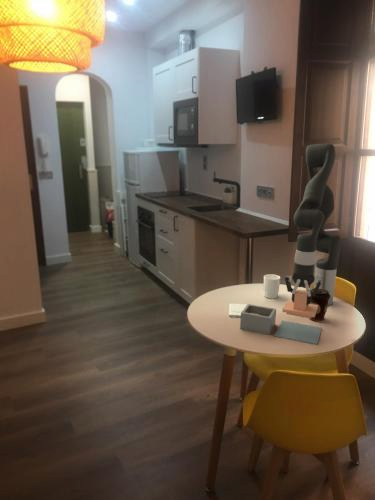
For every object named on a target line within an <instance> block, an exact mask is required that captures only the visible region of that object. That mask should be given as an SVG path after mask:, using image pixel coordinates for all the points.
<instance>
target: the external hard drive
mask: <svg viewBox="0 0 375 500" xmlns="http://www.w3.org/2000/svg"><path fill="white" fill-rule="evenodd" d="M247 304H248V303H247ZM247 304H245V303H243V304H242V303H229V307H228V308H229V311H228V317H229V318H241V312H242V311H243V310H244V308H245V307H246V306H247Z"/></svg>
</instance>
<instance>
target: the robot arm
mask: <svg viewBox="0 0 375 500" xmlns="http://www.w3.org/2000/svg"><path fill="white" fill-rule="evenodd" d="M335 161H336V148H335V146H334V144H333V143H317V144H315V143H314V144H309V145H307V147H306V148H305V163H306V168H307V173H308V174H307V175H308V179H309V181H308V182H307V184H306V186H305V188H304V189H305V190H304V193H303V197H302V200H301V202H300V205H299V206H298V208H297V209H296V210H295V213H294V215H293V223H294V225H295V226H296V227H297V228H301V229H309V230H310V229H311V231H310V232H306V233H300V234H298V235H297V238H296V247H295V248H296V249H295V254H294V260H293V261H294V262H293V263H294V264H293V273H292V275H286V276H285V277H284V281H285V284H286V285H285V287H286V291H287V292H288V293H291V301H293V303H294V296H295V293H296V291H297V289H298V288H305V291H307V294H308V296H307V305H309V304H310V303H311V296H315V295H316V293H317V291H318V289H324V290H327V291H328V292H329V294H330V299H329V301H328V306H331V305H334V304H333V303H334V296H335V289H336V288H335V286H336V277H337V270H338V269H337V268H338V263H339V259H340V251H341V246H342V238H341V236H340V235H339V234H338V233H337V234H336V233H331V232H326V230H325V225H326V222H327V221H328V219H329V218H330V217H331V215H332V214H333V212H334V210H335V197H334V193H333V191H332V190H333V189H331V188H330V186H329V185H328V184H327V183H328V180H329V178H330V175H331V172H332V169H333V167H334V164H335ZM318 168H320V170H318ZM316 251H317V252H319V253H324V254H328V255H327V257H324V258H318V259H316ZM292 280H293V282H294V284H295V285H294V287H292V283H291V282H292ZM312 284H313V288H315V290H314V291H313V292H312V291H311V289H312V287H311V285H312Z"/></svg>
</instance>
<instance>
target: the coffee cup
mask: <svg viewBox="0 0 375 500" xmlns="http://www.w3.org/2000/svg"><path fill="white" fill-rule="evenodd" d="M314 290H315V288H314V287H313V288H311V291H312V292H313V291H314ZM329 299H330V294H329V292H328V291H327V290H324V289H318V291H317V293H316V295H315V296H311V303H310V304H314V305H318V309H317V312H316V315H315V317H311V318H309V319H310V320H311V321H313V322H316V323H317V322H318V323H323V322H325V316H326V314H327V310H328V307H329V305H328V301H329Z"/></svg>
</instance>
